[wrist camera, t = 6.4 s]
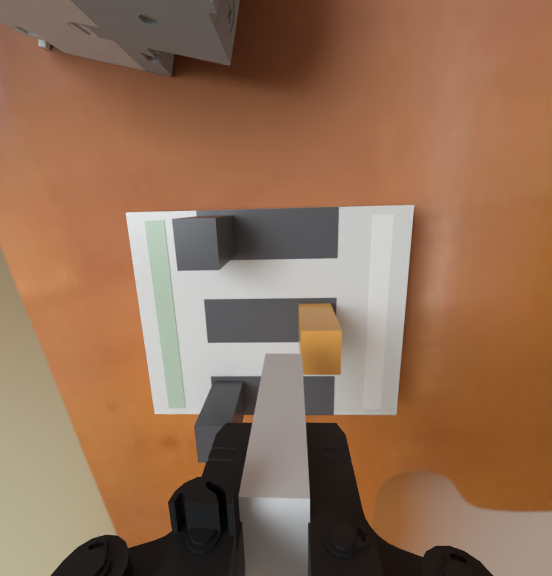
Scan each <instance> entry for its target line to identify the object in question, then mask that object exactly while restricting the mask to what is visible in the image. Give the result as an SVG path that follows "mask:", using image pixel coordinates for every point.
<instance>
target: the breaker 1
mask: <svg viewBox="0 0 552 576" xmlns="http://www.w3.org/2000/svg"><path fill="white" fill-rule="evenodd" d="M172 225H173V234H174V243H175V252H176V261H177V271H200V270H220V269H221V268H222V267H223V266H224V265H226V264H227V263H228V262H229V261H230V260H231V259H232V258H233V257H234V256H235V245H234V228H233V215H217V216H194V217H185V218H176V219H172Z"/></svg>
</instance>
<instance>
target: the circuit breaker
mask: <svg viewBox="0 0 552 576" xmlns="http://www.w3.org/2000/svg"><path fill="white" fill-rule="evenodd" d="M239 3H240V0H0V21H1V22H2V23H4V24H5V25H7V26H8V27H10V28H12V29H13V30H15V31H16V32H18V33H19V34H21V35H23V36H27V37H31V38H36V39H39V46H40V47H41V48H43V49H46V50H50V44H51V45H53V46H54V47H56V48H57V49H59V50H60V51H62V52H63V53H65V54H69V55H74V56H79V57H83V58H88V59H92V60H97V61H101V62H106V63H111V64H115V65H120V66H124V67H129V68H134V69H138V70H143V71H147V72H152V73H157V74H161V75H166V76H170V77H171V76H172V70H173V60H174V54H177V55H182V56H187V57H191V58H196V59H200V60H205V61H210V62H214V63H219V64H223V65H228V66H229V65H231V58H232V51H233V44H234V37H235V30H236V23H237V17H238V10H239Z"/></svg>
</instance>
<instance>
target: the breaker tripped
mask: <svg viewBox="0 0 552 576" xmlns="http://www.w3.org/2000/svg"><path fill="white" fill-rule="evenodd" d="M298 320H299V351H300V354H302V365H303V375H341V349H342V329H341V327H340V325H339V322H338V320H337V317H336V315H335V313H334V310H333V308H332V306H331V303H311V304H298Z"/></svg>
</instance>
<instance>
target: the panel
mask: <svg viewBox="0 0 552 576" xmlns="http://www.w3.org/2000/svg"><path fill="white" fill-rule="evenodd" d="M413 212H414V205H384V206H346V207H308V208H269V209H231V210H193V211H155V212H128V213H126V218H127V225H128V232H129V239H130V246H131V253H132V260H133V267H134V274H135V281H136V288H137V295H138V301H139V308H140V315H141V322H142V329H143V336H144V343H145V350H146V357H147V364H148V371H149V377H150V384H151V391H152V398H153V405H154V412H155V414H200V412H201V409H202V407H203V405H204V402H205V400H206V398H207V396H208V393H209V391H210V389H211V386H212V384H213V382H243V396H244V415H254V412H255V407H256V401H257V396H258V391H259V386H260V380H261V375H262V370H263V365H264V359H265V354H300V351H299V320H298V304H311V303H331V306H332V308H333V310H334V313H335V315H336V317H337V320H338V322H339V325H340V327H341V329H342V349H341V375H303V383H304V400H305V415H396V414H397V402H398V390H399V378H400V366H401V354H402V343H403V331H404V319H405V307H406V295H407V283H408V271H409V260H410V248H411V236H412V224H413ZM217 215H233V228H234V245H235V256H234V257H233V258H232V259H231V260H230V261H229V262H228V263H227V264H226V265H224V266H223V267H222V268H221V269H220V270H200V271H177V261H176V252H175V243H174V234H173V225H172V219H176V218H185V217H194V216H217Z"/></svg>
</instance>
